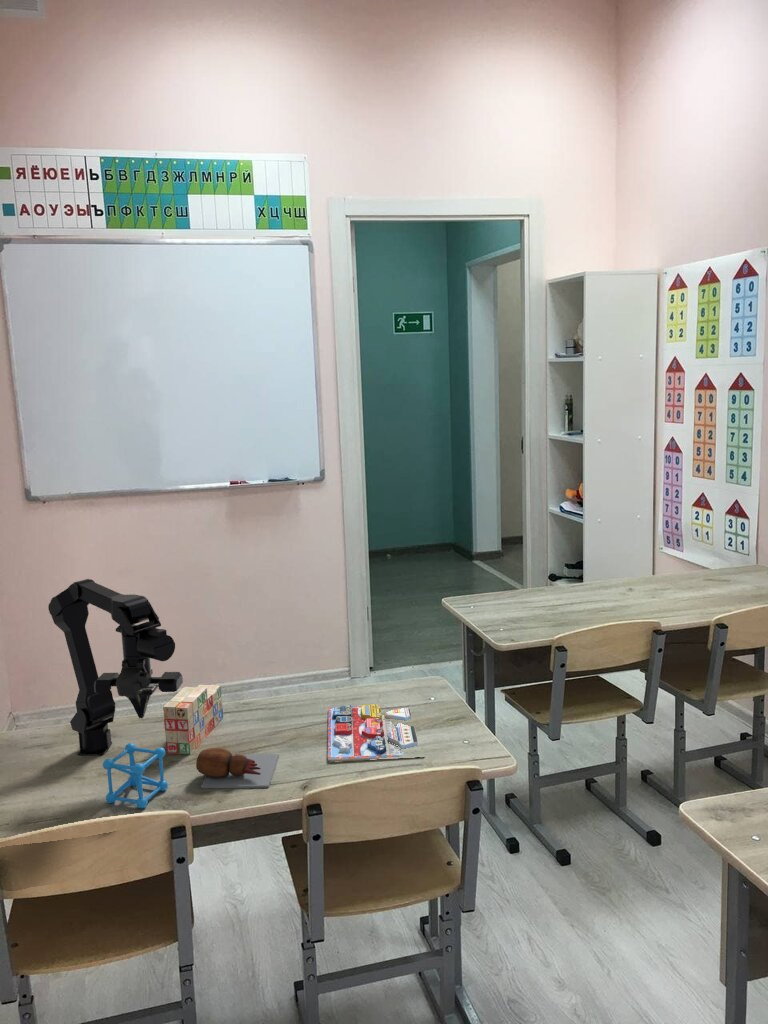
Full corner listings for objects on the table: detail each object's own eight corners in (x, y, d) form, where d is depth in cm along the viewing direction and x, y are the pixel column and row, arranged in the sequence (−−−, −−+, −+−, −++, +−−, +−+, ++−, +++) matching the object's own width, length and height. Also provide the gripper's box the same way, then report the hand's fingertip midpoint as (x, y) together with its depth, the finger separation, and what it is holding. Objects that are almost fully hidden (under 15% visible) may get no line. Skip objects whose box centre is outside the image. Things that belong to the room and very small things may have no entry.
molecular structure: (103, 804, 179) (99, 760, 177) (132, 782, 188) (128, 740, 186) (143, 811, 175) (140, 767, 174) (170, 788, 185) (167, 746, 183)
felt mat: (201, 788, 184) (201, 786, 184) (216, 756, 199) (216, 754, 199) (268, 787, 184) (268, 785, 184) (279, 756, 198) (278, 754, 198)
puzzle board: (425, 760, 196) (425, 749, 195) (327, 765, 195) (327, 755, 194) (413, 708, 226) (413, 698, 225) (328, 712, 224) (328, 702, 224)
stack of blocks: (201, 717, 222) (198, 673, 220) (223, 718, 221) (221, 674, 219) (166, 753, 202) (162, 705, 199) (190, 755, 200) (187, 707, 198)
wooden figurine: (193, 779, 186) (258, 786, 184) (193, 754, 185) (258, 762, 183) (204, 766, 193) (266, 773, 191) (204, 742, 192) (267, 749, 190)
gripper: (81, 665, 180) (88, 733, 183) (167, 664, 180) (172, 732, 182) (100, 648, 191) (106, 712, 194) (181, 647, 191) (185, 711, 193)
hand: (141, 717), depth 191 cm, fingers closed
